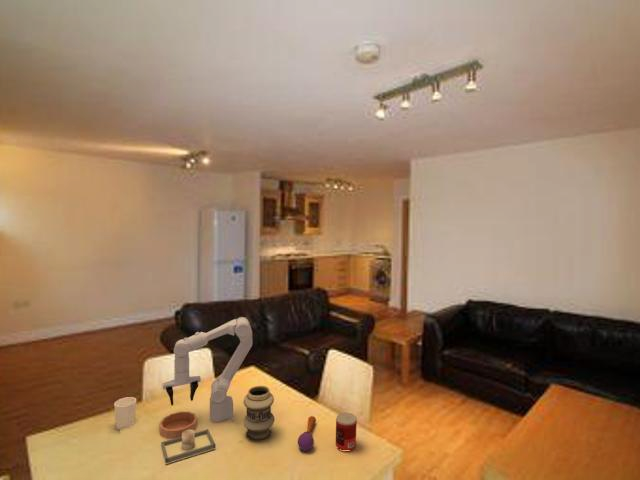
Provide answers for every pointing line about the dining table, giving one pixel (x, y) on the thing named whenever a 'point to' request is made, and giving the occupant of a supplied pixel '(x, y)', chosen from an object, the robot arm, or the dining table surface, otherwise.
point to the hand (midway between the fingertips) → (181, 401)
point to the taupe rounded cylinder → (188, 439)
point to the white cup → (125, 412)
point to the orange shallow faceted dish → (177, 424)
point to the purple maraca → (307, 436)
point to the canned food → (346, 431)
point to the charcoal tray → (185, 454)
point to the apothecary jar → (258, 413)
